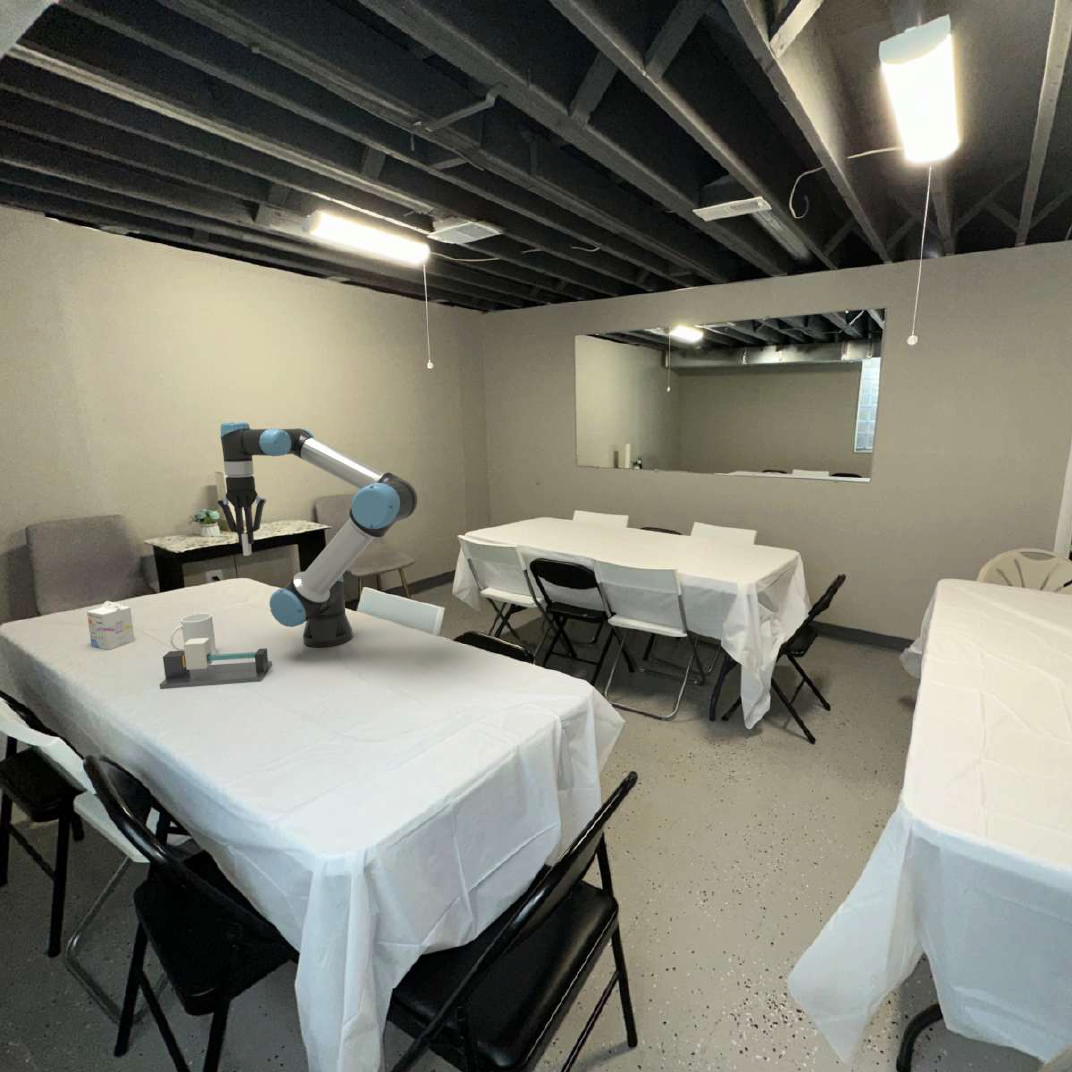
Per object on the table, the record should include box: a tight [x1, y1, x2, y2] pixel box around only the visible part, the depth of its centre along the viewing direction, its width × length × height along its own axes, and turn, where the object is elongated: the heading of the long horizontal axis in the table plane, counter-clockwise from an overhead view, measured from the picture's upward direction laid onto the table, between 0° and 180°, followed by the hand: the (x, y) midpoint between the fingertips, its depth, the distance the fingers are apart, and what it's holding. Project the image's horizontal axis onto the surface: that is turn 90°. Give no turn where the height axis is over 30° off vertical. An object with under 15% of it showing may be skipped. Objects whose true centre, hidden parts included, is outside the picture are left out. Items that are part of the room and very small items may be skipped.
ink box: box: [86, 600, 136, 651], centre depth 180 cm, size 9×8×13 cm
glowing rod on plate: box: [159, 647, 273, 689], centre depth 157 cm, size 25×11×7 cm, turn 100°
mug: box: [169, 612, 218, 655], centre depth 170 cm, size 12×8×12 cm
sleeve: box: [183, 638, 213, 670], centre depth 155 cm, size 5×4×7 cm
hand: (247, 554), depth 170 cm, fingers closed
